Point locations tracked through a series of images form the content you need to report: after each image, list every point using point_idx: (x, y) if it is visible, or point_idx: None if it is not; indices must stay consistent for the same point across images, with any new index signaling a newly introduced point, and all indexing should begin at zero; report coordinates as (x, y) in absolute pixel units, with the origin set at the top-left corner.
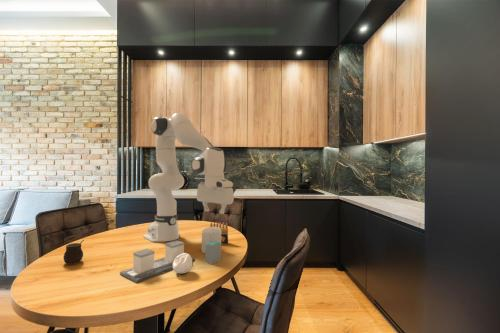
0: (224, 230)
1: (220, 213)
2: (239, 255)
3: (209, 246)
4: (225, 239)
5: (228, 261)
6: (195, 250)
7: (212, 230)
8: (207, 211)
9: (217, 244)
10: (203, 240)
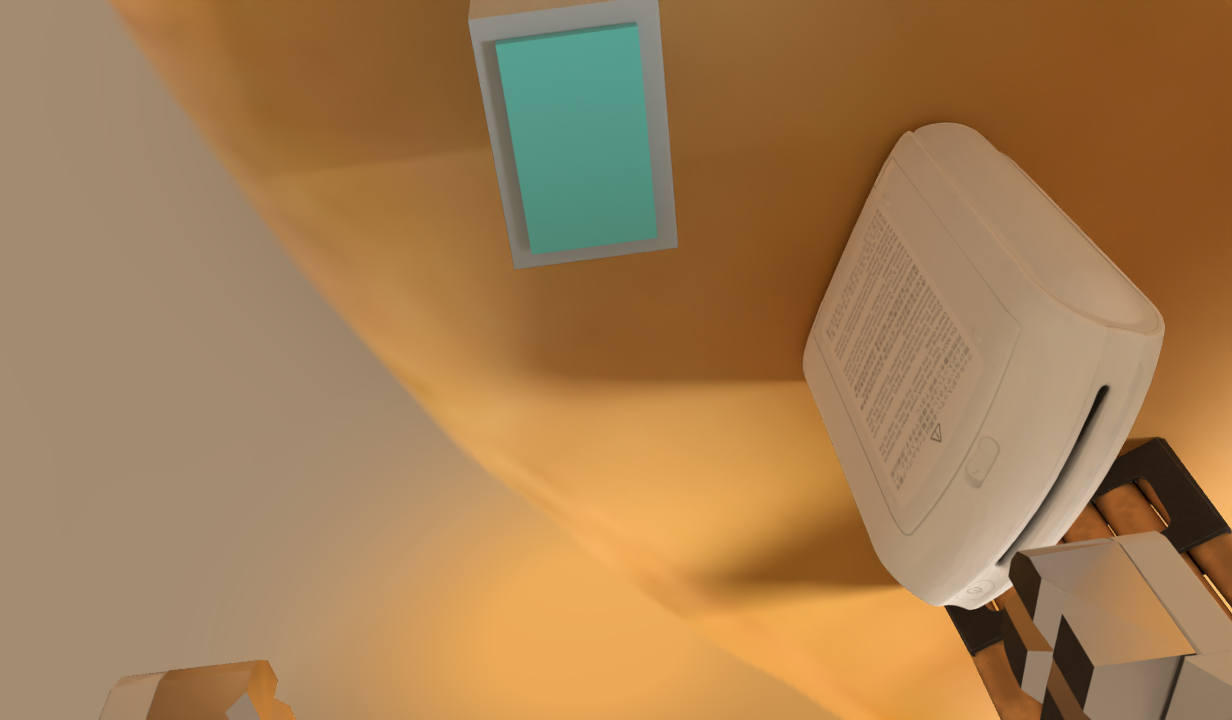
0: None
1: (196, 673)
2: (481, 417)
3: (544, 3)
4: None
5: (401, 188)
6: (1127, 120)
7: (970, 450)
8: (1011, 579)
9: (497, 171)
10: (1010, 215)
